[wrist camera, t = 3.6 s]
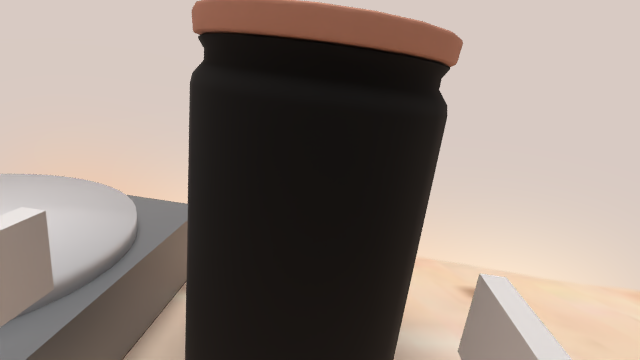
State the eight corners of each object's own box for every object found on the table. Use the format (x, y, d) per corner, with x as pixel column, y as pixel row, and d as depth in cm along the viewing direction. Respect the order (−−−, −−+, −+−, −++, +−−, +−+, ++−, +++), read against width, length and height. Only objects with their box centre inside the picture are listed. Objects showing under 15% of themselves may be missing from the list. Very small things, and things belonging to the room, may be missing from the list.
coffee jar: (318, 298, 27) (353, 47, 22) (425, 416, 18) (524, 48, 13) (166, 339, 21) (166, 11, 16) (219, 538, 13) (254, -27, 8)
